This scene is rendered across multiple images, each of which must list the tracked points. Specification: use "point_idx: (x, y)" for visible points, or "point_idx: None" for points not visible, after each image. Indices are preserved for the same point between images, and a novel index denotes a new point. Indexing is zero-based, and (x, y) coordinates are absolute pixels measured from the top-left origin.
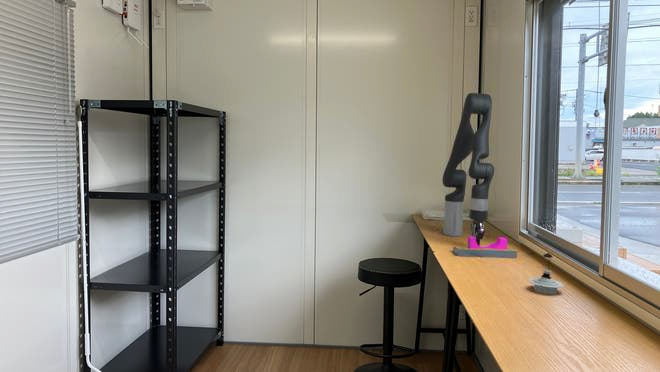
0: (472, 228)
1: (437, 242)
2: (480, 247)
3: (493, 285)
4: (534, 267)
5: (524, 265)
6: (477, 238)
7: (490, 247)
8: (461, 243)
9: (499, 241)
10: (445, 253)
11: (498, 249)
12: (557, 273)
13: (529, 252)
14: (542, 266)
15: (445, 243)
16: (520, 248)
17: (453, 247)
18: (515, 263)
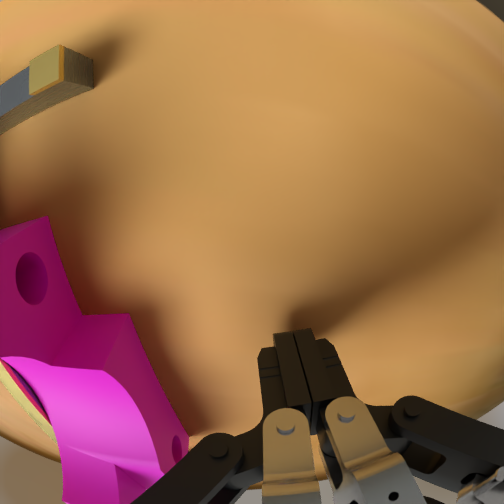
0: (482, 463)
1: (491, 39)
2: (10, 359)
3: None
4: (16, 428)
5: (15, 417)
6: (201, 448)
7: (89, 428)
8: (493, 233)
9: (72, 488)
10: (26, 21)
11: (49, 434)
12: (7, 436)
13: (260, 488)
14: (46, 450)
15: (486, 87)
16: None
17: (39, 59)
18: (17, 407)
